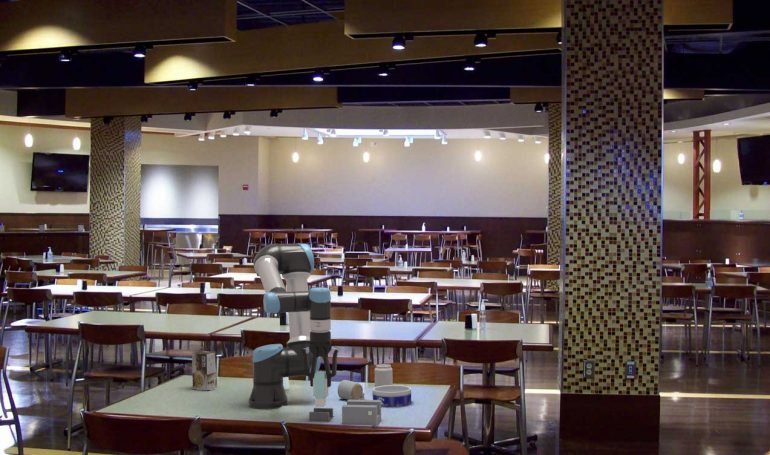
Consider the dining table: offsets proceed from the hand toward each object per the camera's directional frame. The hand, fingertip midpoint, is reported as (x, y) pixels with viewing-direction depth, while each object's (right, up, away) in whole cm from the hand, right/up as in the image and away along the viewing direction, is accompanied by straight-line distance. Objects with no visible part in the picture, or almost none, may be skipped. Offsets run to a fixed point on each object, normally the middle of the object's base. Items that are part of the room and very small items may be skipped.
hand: (320, 395), depth 304 cm
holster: (0, -9, -1) cm, 9 cm away
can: (+23, -9, +48) cm, 54 cm away
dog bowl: (+26, -9, +29) cm, 40 cm away
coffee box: (-55, -10, +62) cm, 84 cm away
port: (+15, -9, -4) cm, 18 cm away
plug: (0, -4, 0) cm, 4 cm away
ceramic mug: (+10, -9, +38) cm, 40 cm away
